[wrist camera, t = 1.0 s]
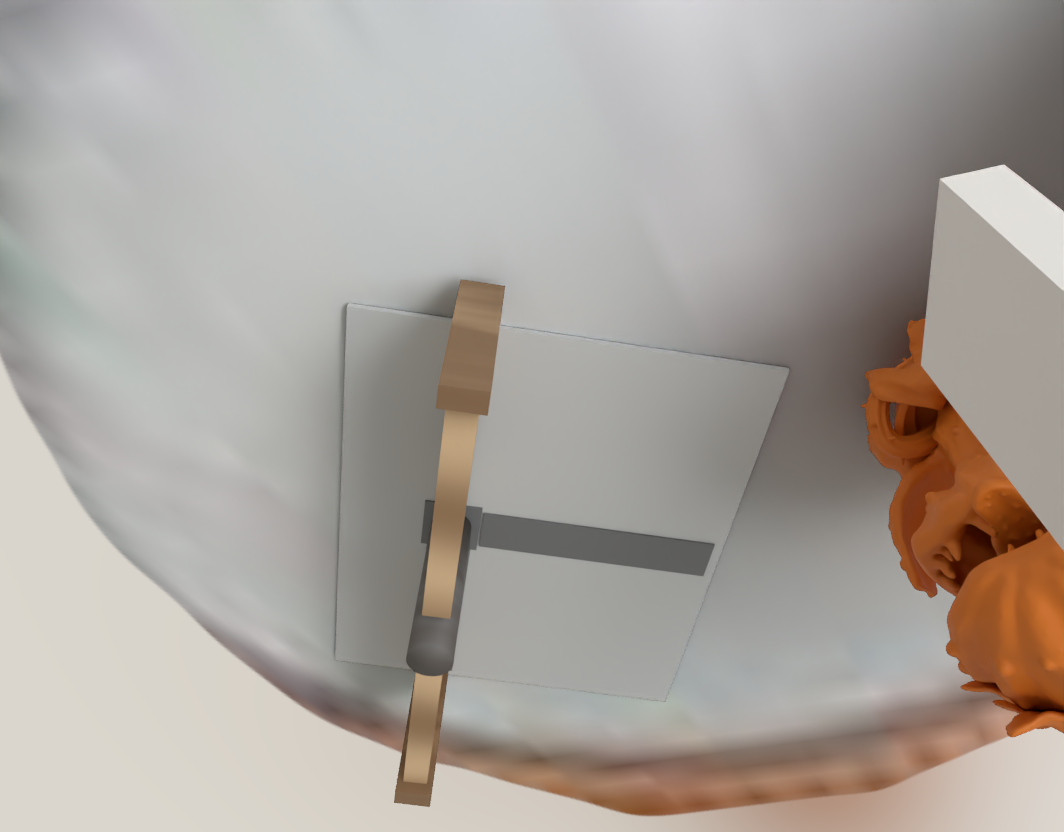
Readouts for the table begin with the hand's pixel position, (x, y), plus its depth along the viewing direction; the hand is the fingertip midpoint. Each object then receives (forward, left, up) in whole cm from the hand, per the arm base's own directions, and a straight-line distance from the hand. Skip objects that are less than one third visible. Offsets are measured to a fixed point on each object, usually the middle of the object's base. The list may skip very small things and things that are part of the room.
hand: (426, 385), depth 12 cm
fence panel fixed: (0, +30, -24) cm, 39 cm away
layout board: (-4, +25, -24) cm, 35 cm away
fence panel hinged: (0, +17, -24) cm, 29 cm away
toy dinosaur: (-21, +12, -24) cm, 34 cm away
